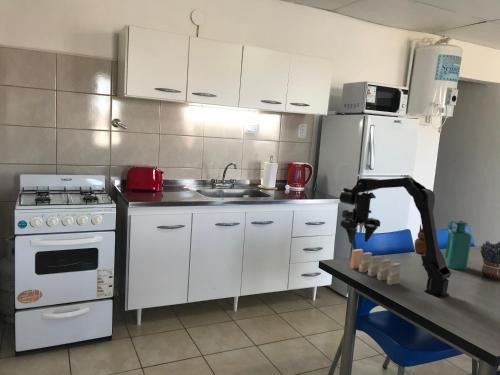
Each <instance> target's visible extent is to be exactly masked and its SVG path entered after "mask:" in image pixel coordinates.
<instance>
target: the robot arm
mask: <svg viewBox="0 0 500 375" xmlns="http://www.w3.org/2000/svg"><path fill="white" fill-rule="evenodd" d="M389 188H391V189H392V188H403V189H405V190H406V192H407V193H408V195H410V196H411V197H412V198H413V199H412V200H413V203H414V205H415V207H416V209H417V210H418V212H419V214H420V215H419V216H420V222H421V228H423V234H424V241H425V247H426V252H425V254H420V257H421V260H422V263H421V264H422V265H421V266H422V267H424V270H425V271H426V274H427V282H426V289H424V290H423V291H424V292H425V293H428V294H429V295H432V296H435V297H437V298H444V297H447V296H450V293H448V287H449V278H450V277H451V276H452V272H451V270H450V268H449V267H447V266H446V262H445V256H444V254H443V252H442V251H441V250H440V247H439V242H438V235H437V228H436V223H435V217H434V216H435V215H434V208H435V205H436V203H435V201H436V200H435V199H436V197H435V192H434V191H433V190H432V189H429V188H427V187H425V186H424V185H423V184H421V183H420V182H418V181H417V180H415V179H414V178H413V176H404V177H397V178H396V177H395V178H387V179H379V178H372V177H371V178H370V177H369V178H368V177H367V178H365V177H363V178H359V179H358V180H357V182H356V184H355V185H354V186H353V187H352V188H348V187H344V188H343V190H342V191H341V193H340V195H339V201H340V203H342V204H347V205H351V206H354V205H355V207H354V208H352V211H349V210H348V209H346V210H343V211H342V214H341V216H342V218H343V219H342V220H341V221H340V227H342V229H345V232H346V233H347V237H348V240H349V243H350V244H353V243H354V240H355V236H356V234H357V231H358V229H357V227H358V226H364V242H366V243H368V241H369V239H370V238H372V235H374V233H375V231H376V230H377V229H378V228H379V227H381V221H380V220H379V219H378V218H373V217H369V215H370V214H372V210H370V208H371V207H370V206H371V201H372V200H371V199H376V198H377V196H376V195H375V194H374V192H373V191H376V190H380V189H389ZM367 192H368V193H367Z"/></svg>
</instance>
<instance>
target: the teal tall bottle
mask: <svg viewBox="0 0 500 375" xmlns="http://www.w3.org/2000/svg"><path fill="white" fill-rule="evenodd" d="M446 224H447V229H448V235H447V241H446V247H445V255H444V259H445V262H446V266H447V268H448V269H452V270H459V271H460V270H462V271H466V270H467V269H468V263H469V258H470V257H469V256H470V252H471V251H470V250H471V245H472V238H473V237H472V234H471V233H469V232H468V231H466V226H468V225H469V222H467V221H463V220H456V221H454V220H453V219H450V218H447V223H446ZM453 224H455V225H456V228H455V229H453Z"/></svg>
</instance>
